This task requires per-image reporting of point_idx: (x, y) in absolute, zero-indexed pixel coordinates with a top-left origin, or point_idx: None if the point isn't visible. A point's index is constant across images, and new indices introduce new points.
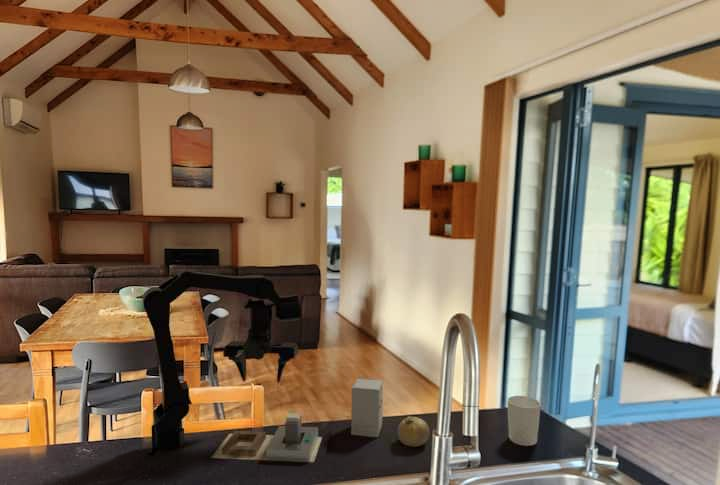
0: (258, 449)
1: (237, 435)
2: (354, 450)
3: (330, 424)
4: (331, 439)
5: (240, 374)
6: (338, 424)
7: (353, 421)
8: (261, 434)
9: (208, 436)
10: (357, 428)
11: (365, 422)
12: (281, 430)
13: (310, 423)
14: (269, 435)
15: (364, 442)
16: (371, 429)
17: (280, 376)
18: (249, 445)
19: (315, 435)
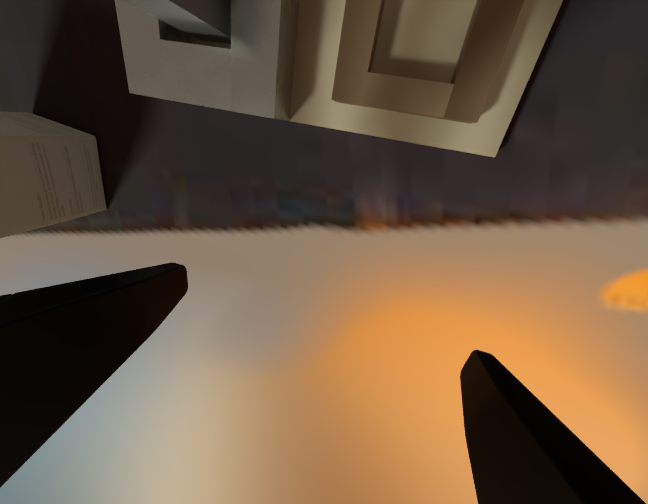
0: None
1: (467, 63)
2: (56, 20)
3: (166, 213)
4: (138, 109)
5: (568, 430)
6: (147, 210)
7: (40, 134)
8: (349, 72)
9: (587, 174)
10: (55, 129)
11: (5, 120)
12: (257, 65)
13: (219, 228)
14: (325, 123)
15: (51, 81)
16: (17, 115)
17: (105, 277)
18: (403, 20)
19: (118, 10)
